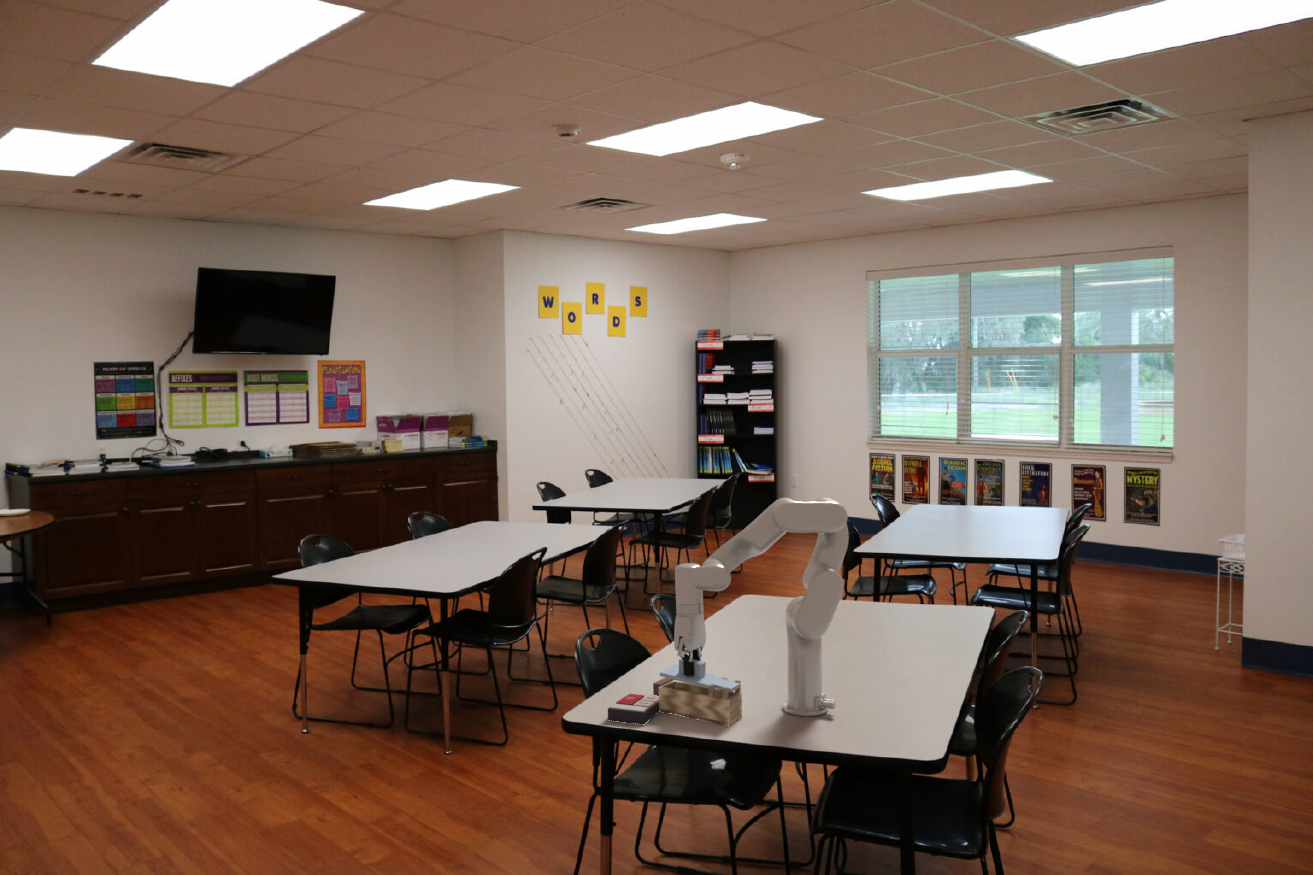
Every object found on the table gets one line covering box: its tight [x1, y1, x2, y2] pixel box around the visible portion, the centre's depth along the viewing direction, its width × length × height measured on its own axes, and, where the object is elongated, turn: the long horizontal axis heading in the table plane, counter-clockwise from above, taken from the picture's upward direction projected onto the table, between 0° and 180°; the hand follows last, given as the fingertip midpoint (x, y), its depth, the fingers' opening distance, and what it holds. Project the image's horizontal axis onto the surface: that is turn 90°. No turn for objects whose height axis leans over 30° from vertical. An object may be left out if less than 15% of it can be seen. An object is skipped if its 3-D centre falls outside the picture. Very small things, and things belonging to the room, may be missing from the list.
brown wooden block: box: [652, 677, 674, 696], centre depth 278 cm, size 2×11×4 cm, turn 146°
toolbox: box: [659, 677, 743, 727], centre depth 257 cm, size 22×8×10 cm, turn 57°
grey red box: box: [607, 693, 660, 725], centre depth 259 cm, size 11×4×15 cm
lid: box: [659, 657, 742, 692], centre depth 257 cm, size 22×8×5 cm, turn 57°
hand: (692, 672), depth 258 cm, fingers closed on lid, 2 cm apart
